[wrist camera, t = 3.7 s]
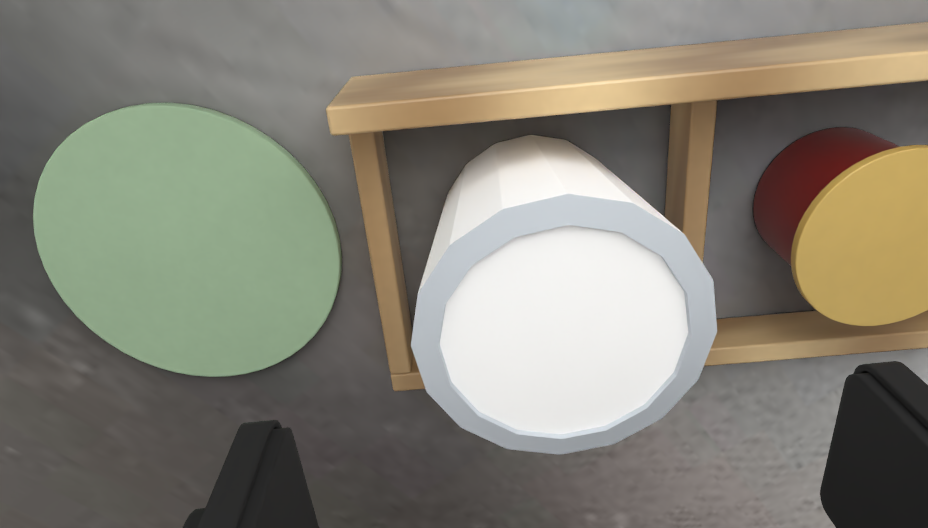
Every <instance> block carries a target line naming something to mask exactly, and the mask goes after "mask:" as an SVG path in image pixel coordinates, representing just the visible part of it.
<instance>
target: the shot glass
mask: <svg viewBox="0 0 928 528" xmlns="http://www.w3.org/2000/svg"><path fill="white" fill-rule="evenodd" d="M716 333H717V321H716V308H715V295H714V282H713V279H712V277H711V276H710V274H709V272H708V271H707V269H706V268H705V266H704V264H703V263H702V261H701V260H700V258H699V257H698V255H697V253H696V252H695V250H694V249H693V247H692V245H691V244H690V242H689V241H688V239H687V238H686V236H685V234H684V233H682V232H681V231H680V230H679V229H678V228H677V227H675V226H674V225H673V224H672V223H671V222H670V221H668V220H667V219H666V218H665V217H664V216H663V215H661V214H660V213H659V212H658V211H657V210H656V209H654V208H653V207H652V206H651V205H650V204H649V203H647V202H646V201H645V200H644V199H643V198H641V197H640V196H639V195H638V194H637V193H636V192H634V191H633V190H632V189H631V188H630V187H629V186H627V185H626V184H625V183H624V182H623V181H622V180H620V179H619V178H618V177H617V176H616V175H615V174H613V173H612V172H611V171H610V170H609V169H608V168H606V167H605V166H604V165H603V164H602V163H601V162H599V161H598V160H597V159H596V158H594V157H593V156H591V155H590V154H588V153H586V152H585V151H583V150H582V149H580V148H578V147H577V146H575V145H574V144H572V143H570V142H569V141H567V140H563V139H557V138H550V137H543V136H536V135H527V136H523V137H519V138H515V139H511V140H507V141H503V142H498V143H495V144H493V145H492V146H491V147H489V148H488V149H486V150H485V151H484V152H482V153H481V154H479V155H478V156H477V157H475V158H474V159H472V160H471V161H470V162H468V163H467V164H466V165H465V167H464V168H463V170H462V171H461V173H460V175H459V176H458V178H457V179H456V181H455V183H454V184H453V186H452V187H451V189H450V191H449V192H448V194H447V198H446V201H445V204H444V208H443V211H442V214H441V218H440V221H439V225H438V228H437V231H436V235H435V238H434V241H433V245H432V248H431V251H430V255H429V258H428V261H427V265H426V268H425V271H424V275H423V278H422V281H421V285H420V288H419V291H418V296H417V303H416V311H415V318H414V325H413V333H412V340H411V348H412V351H413V353H414V356H415V359H416V362H417V365H418V368H419V371H420V374H421V377H422V380H423V383H424V386H425V389H426V392H427V393H428V394H429V395H430V396H431V397H432V398H433V399H434V400H435V401H436V402H437V403H438V404H439V405H440V406H441V408H442V409H443V410H444V411H445V412H446V413H447V414H448V415H449V416H450V417H451V418H452V419H453V420H454V421H455V422H456V423H457V424H458V425H459V426H460V427H461V428H463V429H465V430H467V431H469V432H471V433H474V434H476V435H478V436H480V437H482V438H484V439H487V440H489V441H491V442H493V443H495V444H497V445H500V446H502V447H504V448H506V449H512V450H521V451H530V452H540V453H549V454H558V455H561V454H566V453H571V452H577V451H582V450H587V449H592V448H597V447H602V446H607V445H613V444H615V443H617V442H619V441H621V440H623V439H625V438H626V437H628V436H630V435H632V434H634V433H636V432H638V431H640V430H641V429H643V428H645V427H647V426H649V425H651V424H653V423H655V422H656V421H658V420H660V419H662V418H663V417H664V416H665V415H666V414H667V413H668V412H669V410H670V409H671V408H672V407H673V406H674V405H675V404H676V403H677V402H678V401H679V400H680V399H681V398H682V397H683V396H684V394H685V393H686V392H687V391H688V390H689V389H690V388H691V387H692V386H693V385H694V384H695V383H696V382H697V381H698V380H699V377H700V374H701V372H702V369H703V367H704V364H705V362H706V359H707V356H708V354H709V351H710V349H711V346H712V344H713V341H714V339H715V336H716Z"/></svg>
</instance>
